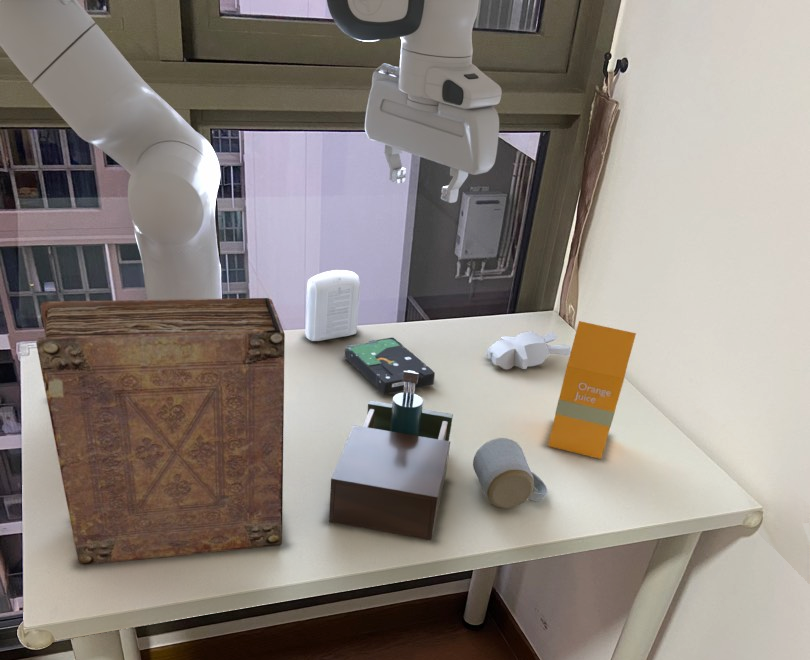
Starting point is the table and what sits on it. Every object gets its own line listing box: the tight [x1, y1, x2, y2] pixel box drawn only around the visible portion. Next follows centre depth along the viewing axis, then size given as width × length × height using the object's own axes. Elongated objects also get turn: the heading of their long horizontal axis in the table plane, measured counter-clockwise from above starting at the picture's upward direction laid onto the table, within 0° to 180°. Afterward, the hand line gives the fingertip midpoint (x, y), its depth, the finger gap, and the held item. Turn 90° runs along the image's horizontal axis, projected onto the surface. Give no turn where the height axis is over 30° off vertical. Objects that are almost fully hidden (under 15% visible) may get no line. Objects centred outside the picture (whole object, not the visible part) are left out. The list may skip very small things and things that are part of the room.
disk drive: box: [344, 337, 436, 395], centre depth 149 cm, size 10×3×15 cm
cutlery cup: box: [390, 371, 424, 436], centre depth 123 cm, size 4×4×13 cm
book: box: [36, 297, 286, 566], centre depth 100 cm, size 25×9×30 cm, turn 106°
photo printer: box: [304, 269, 361, 342], centre depth 156 cm, size 10×4×12 cm, turn 123°
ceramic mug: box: [472, 437, 548, 509], centre depth 121 cm, size 11×8×8 cm
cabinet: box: [328, 424, 451, 541], centre depth 117 cm, size 14×14×7 cm
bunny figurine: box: [486, 330, 571, 370], centre depth 157 cm, size 10×5×15 cm
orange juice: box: [547, 320, 637, 460], centre depth 132 cm, size 8×9×20 cm
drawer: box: [362, 400, 454, 441], centre depth 127 cm, size 18×13×6 cm
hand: (422, 191), depth 114 cm, fingers open, 8 cm apart
